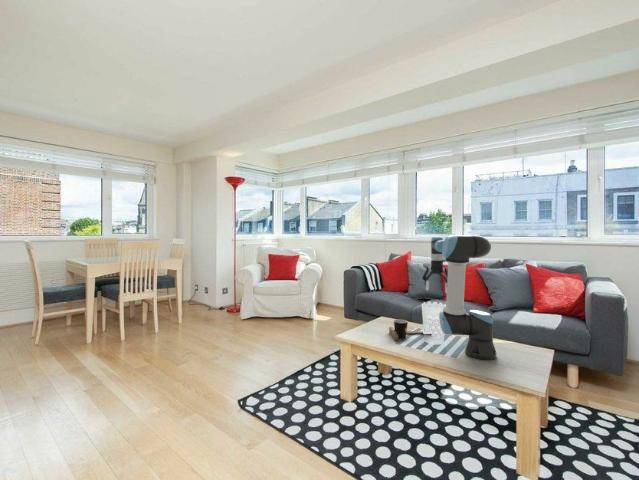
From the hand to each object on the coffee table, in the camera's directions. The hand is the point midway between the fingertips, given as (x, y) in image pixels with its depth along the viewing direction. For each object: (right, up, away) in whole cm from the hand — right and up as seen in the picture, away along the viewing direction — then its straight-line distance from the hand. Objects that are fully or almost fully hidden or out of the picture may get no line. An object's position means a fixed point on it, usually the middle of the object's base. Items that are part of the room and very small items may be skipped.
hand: (436, 291), depth 218 cm
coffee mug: (-29, -27, -14) cm, 42 cm away
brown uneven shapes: (-20, -27, -13) cm, 36 cm away
